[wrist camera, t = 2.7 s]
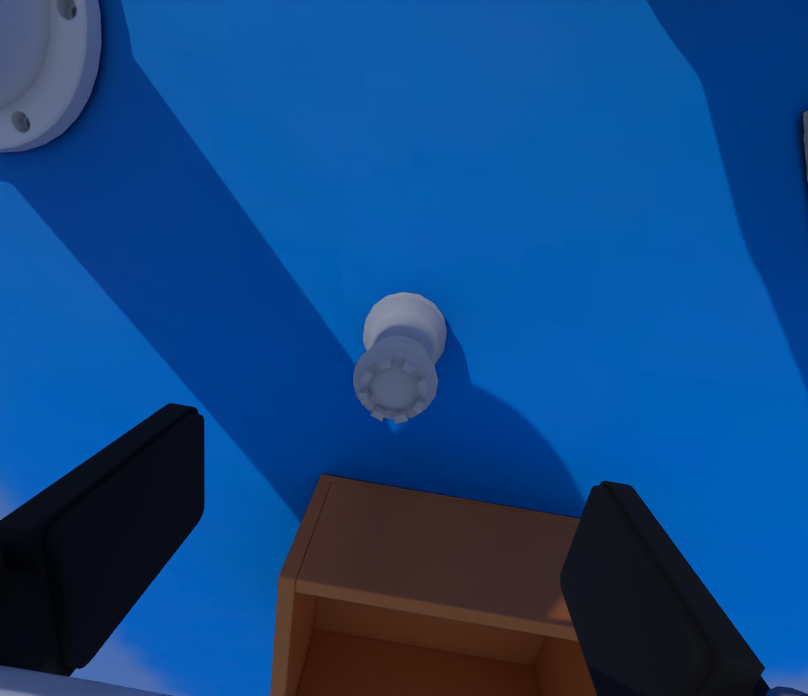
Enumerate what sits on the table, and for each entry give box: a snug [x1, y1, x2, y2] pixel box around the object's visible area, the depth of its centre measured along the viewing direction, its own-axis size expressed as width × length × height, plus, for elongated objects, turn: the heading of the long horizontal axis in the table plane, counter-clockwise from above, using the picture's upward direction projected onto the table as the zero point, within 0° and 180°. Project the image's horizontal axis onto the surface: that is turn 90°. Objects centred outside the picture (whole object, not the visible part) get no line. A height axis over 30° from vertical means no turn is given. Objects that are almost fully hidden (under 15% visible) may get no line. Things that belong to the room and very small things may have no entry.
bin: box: [270, 474, 597, 696], centre depth 24 cm, size 18×14×8 cm
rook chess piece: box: [353, 292, 447, 424], centre depth 18 cm, size 4×4×8 cm
